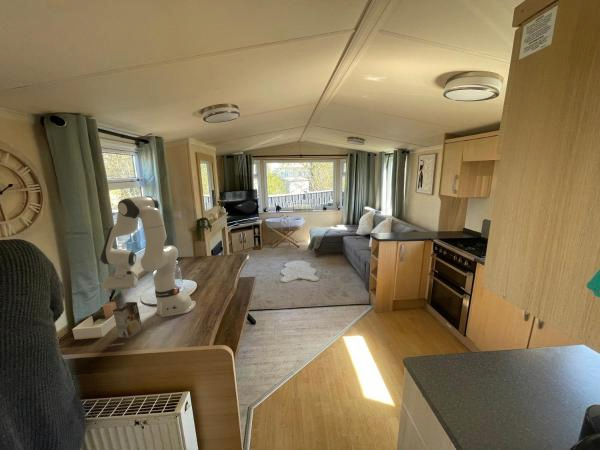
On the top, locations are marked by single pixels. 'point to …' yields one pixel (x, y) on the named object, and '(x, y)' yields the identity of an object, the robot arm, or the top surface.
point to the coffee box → (127, 319)
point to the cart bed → (93, 328)
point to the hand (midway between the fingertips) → (116, 295)
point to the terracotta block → (109, 309)
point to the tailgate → (100, 321)
